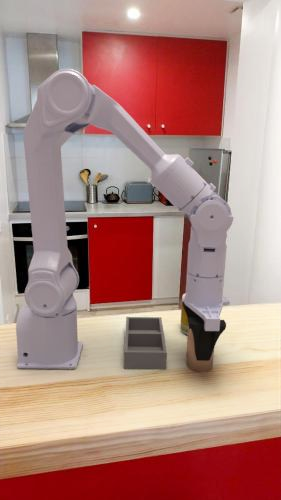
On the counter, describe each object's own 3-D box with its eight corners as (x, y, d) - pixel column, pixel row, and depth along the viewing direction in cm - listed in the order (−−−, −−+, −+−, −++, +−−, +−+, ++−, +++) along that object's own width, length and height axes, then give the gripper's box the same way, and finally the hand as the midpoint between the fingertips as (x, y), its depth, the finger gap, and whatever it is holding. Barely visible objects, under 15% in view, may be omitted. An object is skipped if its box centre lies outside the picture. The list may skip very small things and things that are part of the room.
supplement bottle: (207, 338, 68) (210, 290, 66) (178, 335, 69) (181, 288, 67) (208, 326, 73) (211, 281, 71) (181, 323, 74) (183, 278, 72)
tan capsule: (187, 371, 58) (190, 330, 56) (184, 357, 62) (186, 318, 60) (215, 372, 58) (218, 331, 56) (209, 357, 62) (212, 318, 60)
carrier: (124, 368, 58) (124, 352, 57) (126, 330, 71) (126, 316, 70) (166, 369, 58) (166, 352, 57) (160, 331, 71) (161, 317, 70)
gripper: (244, 289, 49) (236, 377, 52) (220, 259, 63) (215, 330, 66) (193, 288, 49) (187, 377, 52) (180, 259, 63) (176, 330, 66)
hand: (200, 351), depth 59 cm, fingers closed on tan capsule, 4 cm apart
